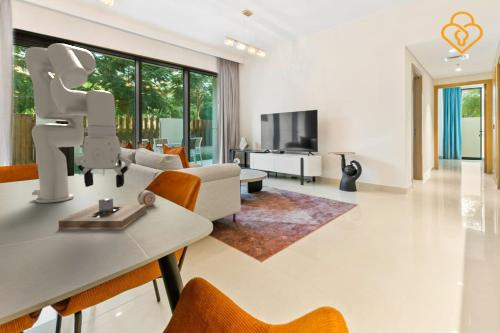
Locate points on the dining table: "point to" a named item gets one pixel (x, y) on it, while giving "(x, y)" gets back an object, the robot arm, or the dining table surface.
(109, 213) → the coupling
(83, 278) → the dining table surface
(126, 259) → the dining table surface
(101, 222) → the socket plate
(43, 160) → the robot arm
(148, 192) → the roller toy
